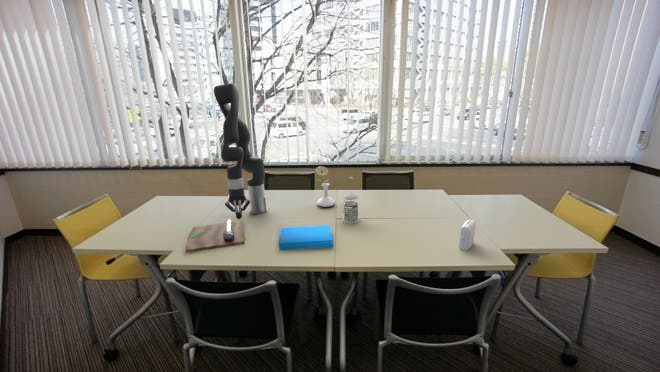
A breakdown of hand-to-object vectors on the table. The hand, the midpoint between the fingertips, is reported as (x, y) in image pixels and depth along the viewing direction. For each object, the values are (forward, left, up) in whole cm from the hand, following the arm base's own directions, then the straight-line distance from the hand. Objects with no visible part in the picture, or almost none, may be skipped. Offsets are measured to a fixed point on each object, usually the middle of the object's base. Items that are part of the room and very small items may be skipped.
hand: (239, 218), depth 160 cm
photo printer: (-100, +50, -7) cm, 112 cm away
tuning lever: (+5, +4, -5) cm, 8 cm away
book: (-31, +21, -8) cm, 38 cm away
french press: (-59, +6, -7) cm, 59 cm away
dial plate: (+11, +3, -7) cm, 14 cm away
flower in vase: (-52, -21, -7) cm, 56 cm away
